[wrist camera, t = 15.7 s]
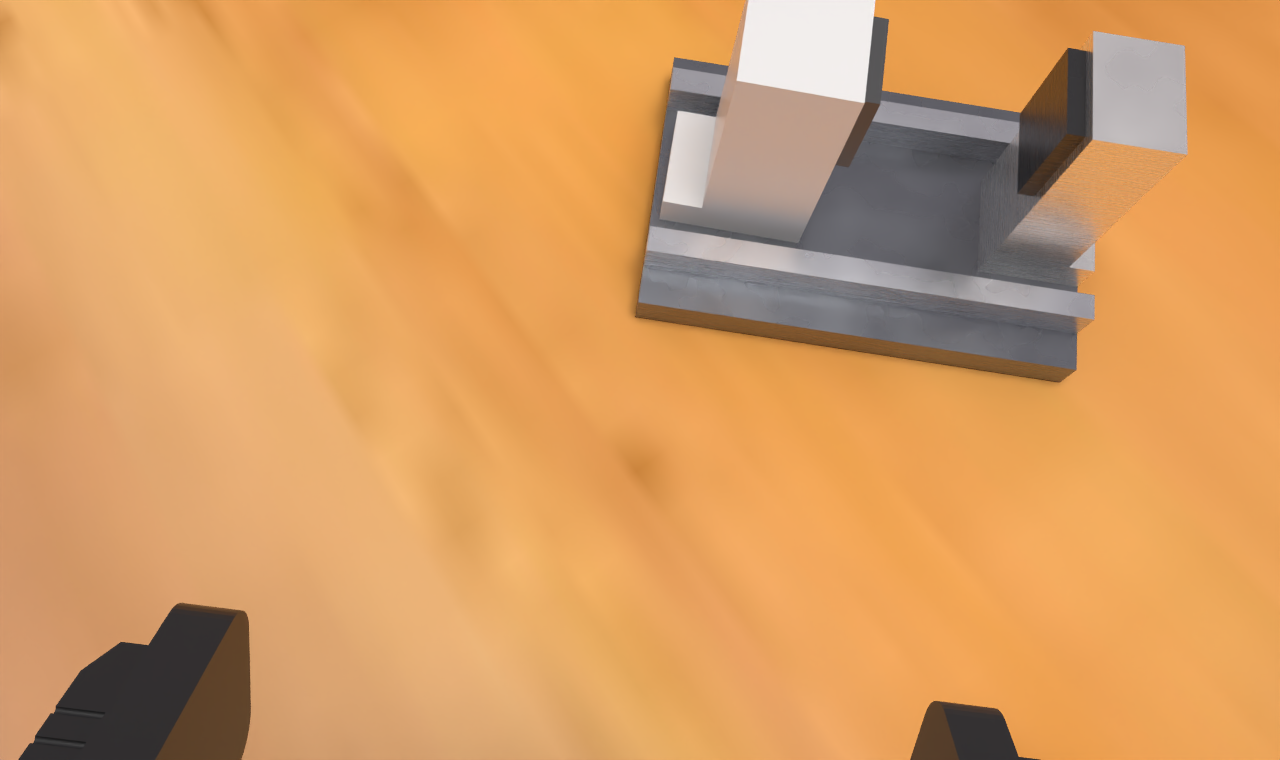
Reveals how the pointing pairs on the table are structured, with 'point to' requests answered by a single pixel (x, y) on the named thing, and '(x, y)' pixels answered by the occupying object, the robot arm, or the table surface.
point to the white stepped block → (779, 118)
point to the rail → (940, 219)
